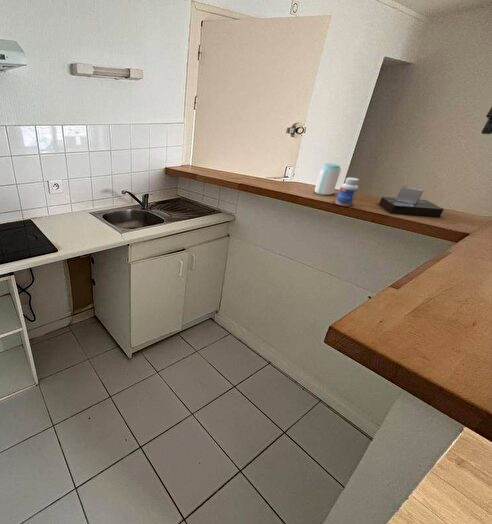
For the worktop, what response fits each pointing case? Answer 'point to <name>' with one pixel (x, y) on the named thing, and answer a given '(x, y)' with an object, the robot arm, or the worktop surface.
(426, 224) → the worktop surface
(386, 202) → the base
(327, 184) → the can
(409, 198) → the tap handle
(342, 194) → the pill bottle
